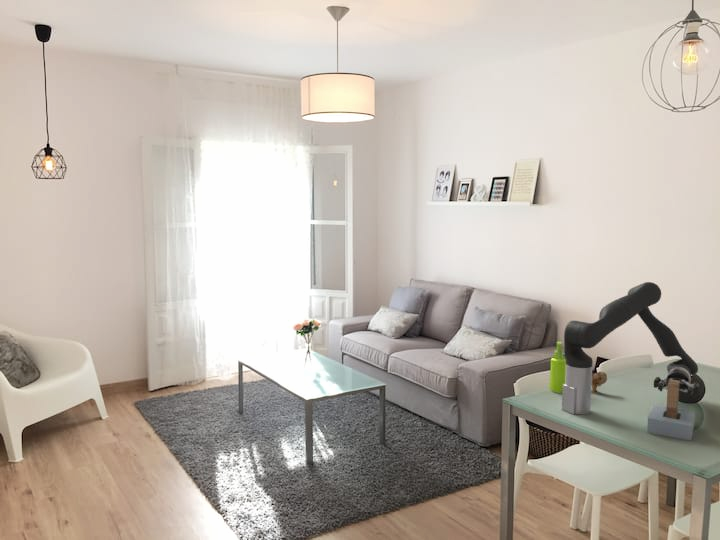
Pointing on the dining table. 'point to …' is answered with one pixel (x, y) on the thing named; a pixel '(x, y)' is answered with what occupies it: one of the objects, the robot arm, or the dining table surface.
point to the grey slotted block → (671, 423)
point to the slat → (672, 399)
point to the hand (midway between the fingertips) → (674, 390)
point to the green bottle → (557, 370)
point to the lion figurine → (598, 380)
